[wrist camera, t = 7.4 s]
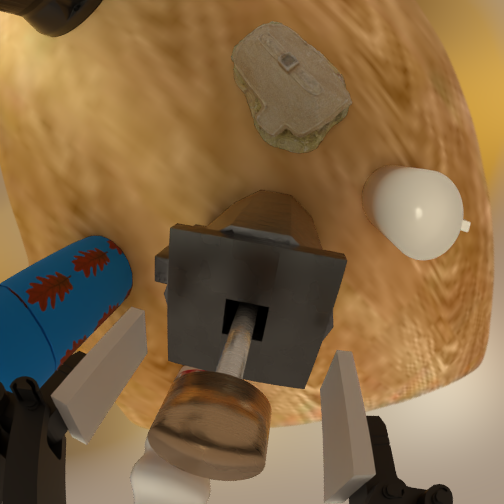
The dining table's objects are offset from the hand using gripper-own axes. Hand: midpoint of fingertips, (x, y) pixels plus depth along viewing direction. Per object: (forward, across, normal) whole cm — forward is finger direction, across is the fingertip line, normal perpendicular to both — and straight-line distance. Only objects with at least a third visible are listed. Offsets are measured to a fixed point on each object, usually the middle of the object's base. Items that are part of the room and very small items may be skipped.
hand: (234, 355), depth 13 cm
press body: (+20, -1, 0) cm, 20 cm away
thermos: (+20, -22, -9) cm, 31 cm away
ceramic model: (+21, 0, +17) cm, 26 cm away
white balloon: (+20, +14, +7) cm, 26 cm away
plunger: (+12, 0, 0) cm, 12 cm away
